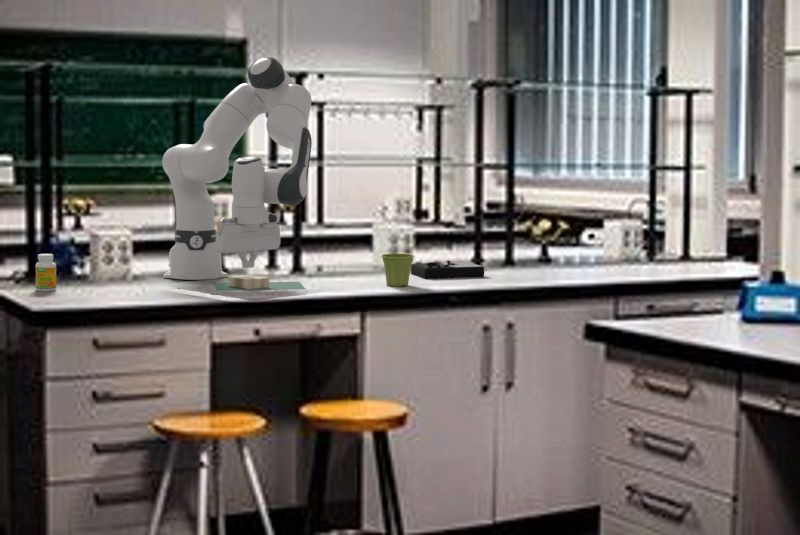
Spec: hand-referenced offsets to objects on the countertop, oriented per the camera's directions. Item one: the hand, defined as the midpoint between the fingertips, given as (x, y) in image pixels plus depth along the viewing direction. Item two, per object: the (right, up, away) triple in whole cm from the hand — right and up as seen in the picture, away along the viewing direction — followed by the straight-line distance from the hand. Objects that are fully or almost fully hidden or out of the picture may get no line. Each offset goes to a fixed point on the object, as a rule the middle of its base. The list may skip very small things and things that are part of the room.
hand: (248, 267), depth 353 cm
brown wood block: (+3, -4, +3) cm, 5 cm away
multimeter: (+56, -3, +42) cm, 70 cm away
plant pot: (+41, -5, +17) cm, 44 cm away
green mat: (+3, -6, +4) cm, 8 cm away
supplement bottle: (-55, -6, -2) cm, 55 cm away
